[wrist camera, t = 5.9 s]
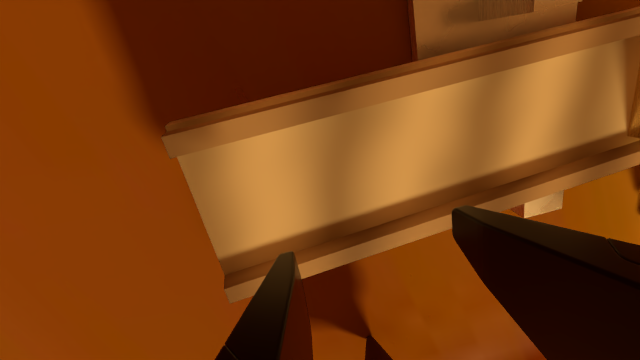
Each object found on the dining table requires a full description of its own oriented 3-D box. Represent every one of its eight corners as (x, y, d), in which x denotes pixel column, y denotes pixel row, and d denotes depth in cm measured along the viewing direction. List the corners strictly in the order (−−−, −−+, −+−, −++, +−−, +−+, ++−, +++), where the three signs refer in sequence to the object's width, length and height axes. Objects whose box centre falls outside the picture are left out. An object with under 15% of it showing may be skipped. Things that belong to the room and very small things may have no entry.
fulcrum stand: (571, -60, 18) (672, -99, 14) (550, 188, 24) (615, 219, 20) (404, -24, 18) (451, -51, 13) (426, 221, 24) (463, 260, 19)
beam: (707, -11, 17) (764, -20, 15) (674, 133, 20) (718, 140, 18) (169, 121, 13) (158, 131, 11) (231, 279, 16) (231, 307, 14)
